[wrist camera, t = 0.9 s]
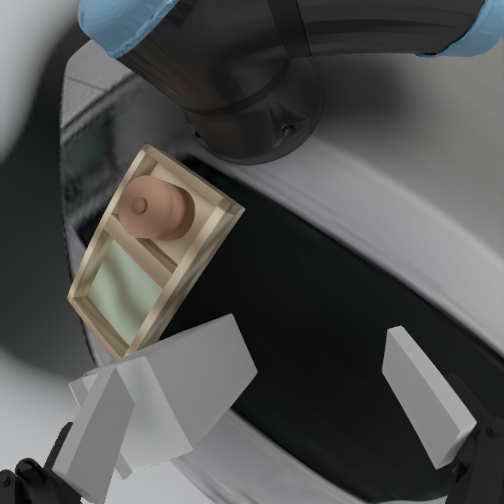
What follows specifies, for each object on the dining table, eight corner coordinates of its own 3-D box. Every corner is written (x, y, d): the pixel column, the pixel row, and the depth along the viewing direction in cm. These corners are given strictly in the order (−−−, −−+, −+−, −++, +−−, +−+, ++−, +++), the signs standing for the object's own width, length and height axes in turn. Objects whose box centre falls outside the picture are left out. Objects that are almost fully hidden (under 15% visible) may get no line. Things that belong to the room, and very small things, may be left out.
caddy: (165, 151, 33) (127, 132, 26) (245, 209, 30) (216, 196, 23) (87, 295, 37) (48, 300, 30) (144, 361, 34) (106, 378, 27)
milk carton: (232, 312, 31) (100, 375, 13) (258, 372, 30) (161, 484, 12) (180, 331, 33) (46, 387, 14) (205, 386, 32) (93, 474, 14)
